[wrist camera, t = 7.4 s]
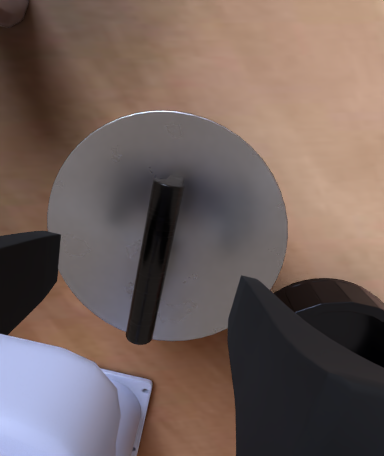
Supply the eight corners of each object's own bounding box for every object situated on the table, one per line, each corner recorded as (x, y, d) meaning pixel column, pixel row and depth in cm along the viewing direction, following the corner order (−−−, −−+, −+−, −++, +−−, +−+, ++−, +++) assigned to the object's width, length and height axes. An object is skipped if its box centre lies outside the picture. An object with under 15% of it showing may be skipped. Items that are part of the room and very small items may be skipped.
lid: (316, 143, 14) (366, 147, 10) (247, 349, 18) (259, 423, 13) (67, 86, 14) (-3, 61, 10) (49, 304, 18) (-8, 362, 13)
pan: (418, 297, 22) (454, 325, 18) (359, 411, 25) (381, 452, 22) (267, 263, 22) (277, 285, 18) (228, 382, 25) (231, 419, 22)
